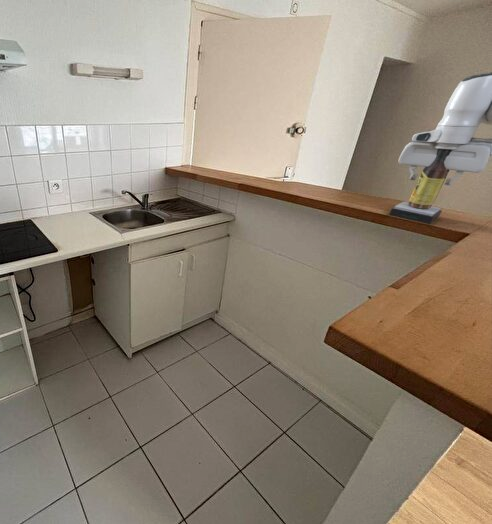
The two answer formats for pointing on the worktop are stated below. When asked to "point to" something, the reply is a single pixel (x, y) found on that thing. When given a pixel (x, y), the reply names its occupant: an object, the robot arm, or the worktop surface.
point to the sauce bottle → (430, 182)
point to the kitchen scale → (415, 213)
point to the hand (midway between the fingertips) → (429, 182)
